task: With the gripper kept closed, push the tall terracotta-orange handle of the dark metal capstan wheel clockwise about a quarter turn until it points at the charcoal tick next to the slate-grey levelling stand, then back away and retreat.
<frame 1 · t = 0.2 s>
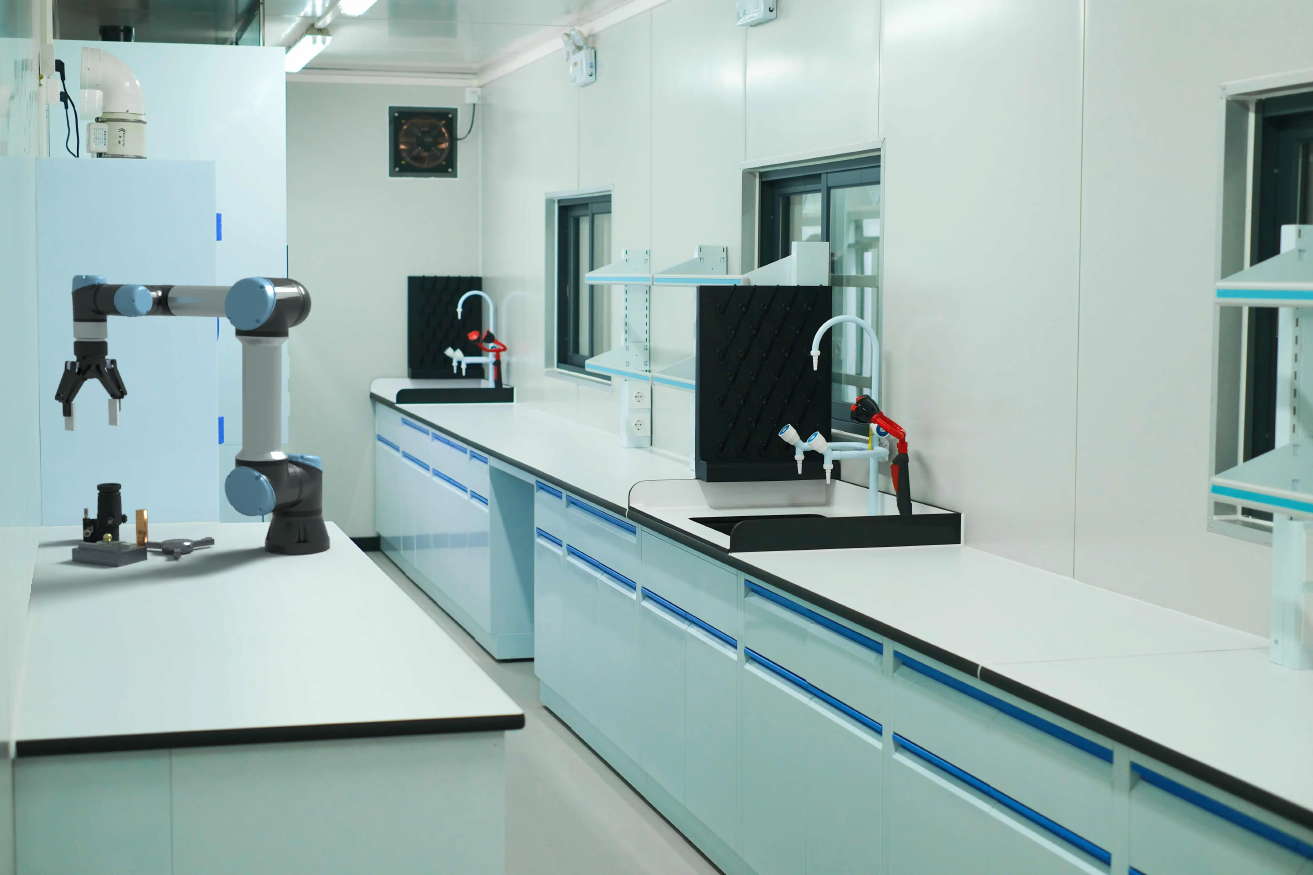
hand: (92, 428, 309), 28 cm above the table, fingers open, 13 cm apart
capstan: (167, 530, 301), point 5 cm above the table, hinge at 10.0°
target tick: (206, 542, 313), on the table
scope: (105, 541, 311), on the table
level stand: (110, 560, 290), on the table
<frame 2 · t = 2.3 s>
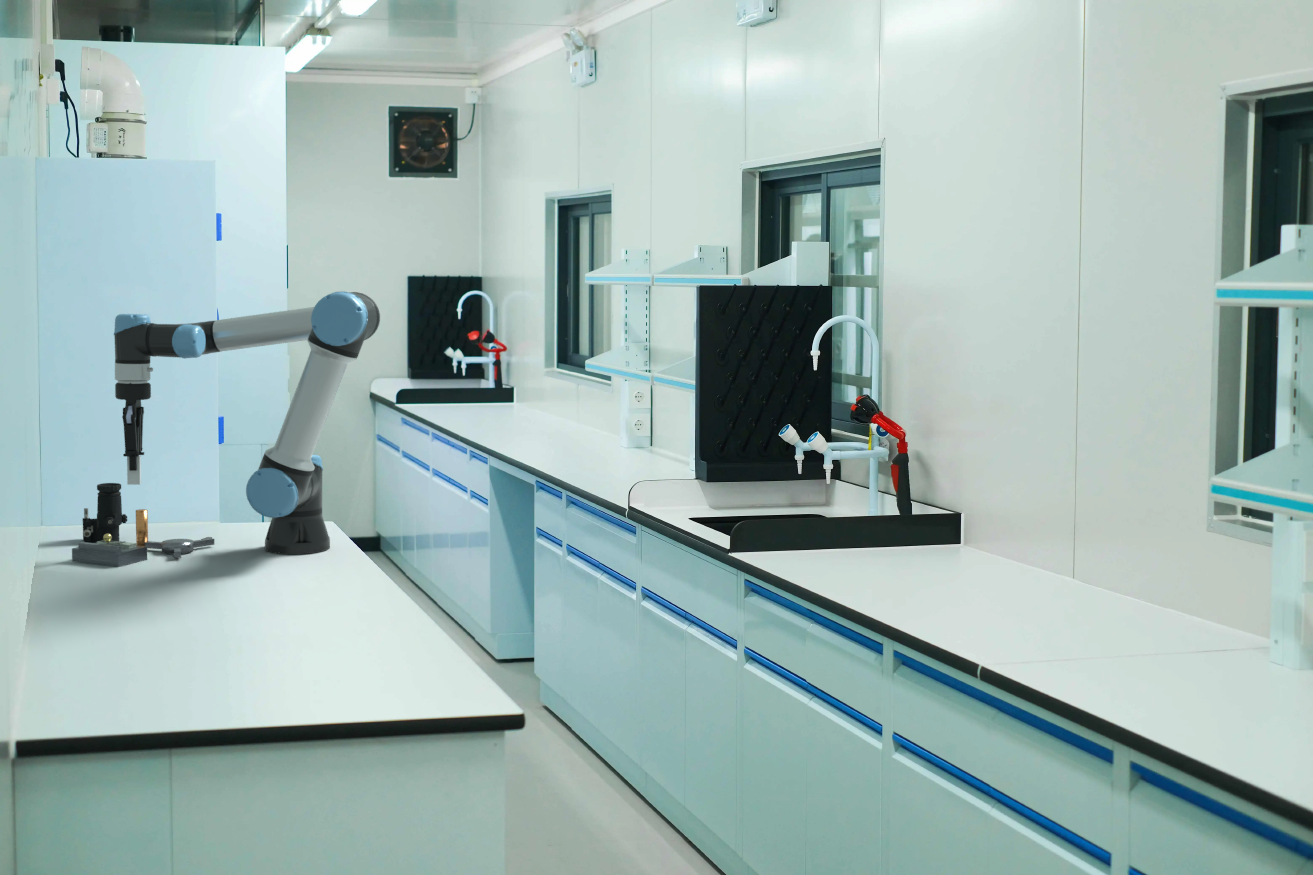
hand: (134, 483, 294), 17 cm above the table, fingers closed
nothing on the table moved.
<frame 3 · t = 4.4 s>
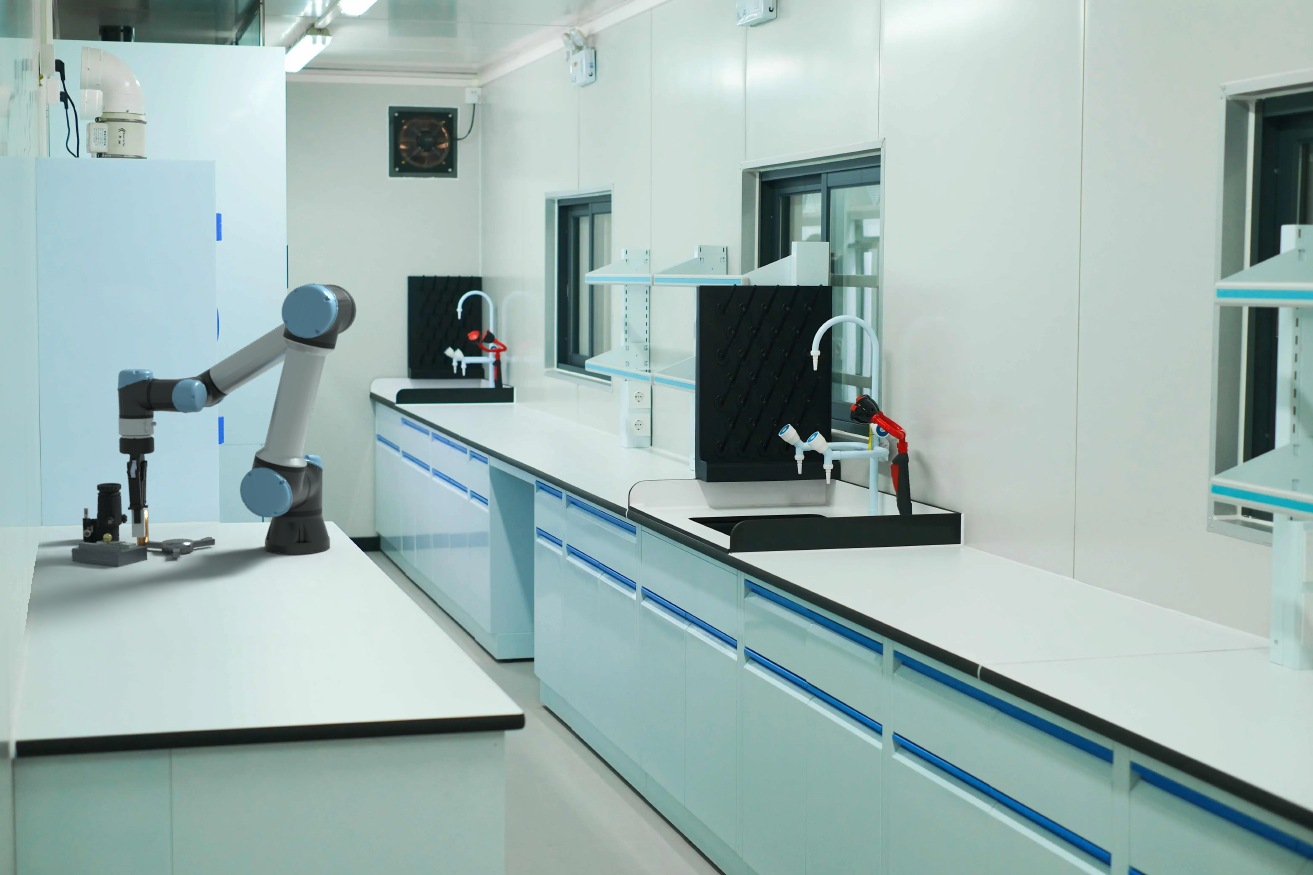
hand: (138, 536, 298), 4 cm above the table, fingers closed
capstan: (167, 530, 301), point 5 cm above the table, hinge at 8.3°, touching gripper
everything else where it was.
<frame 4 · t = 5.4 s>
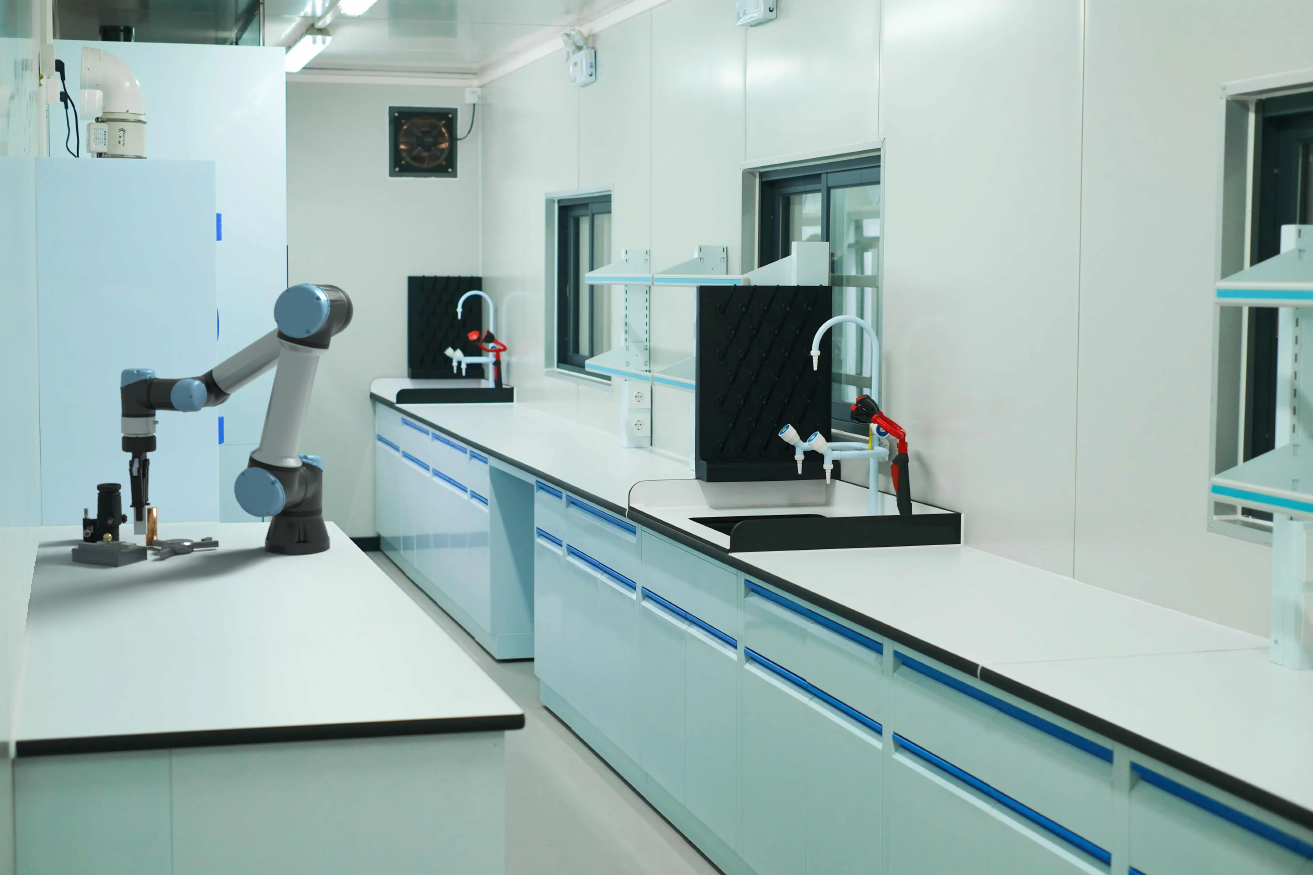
hand: (140, 533, 301), 4 cm above the table, fingers closed
capstan: (169, 530, 301), point 5 cm above the table, hinge at -10.0°, touching gripper
everything else where it was.
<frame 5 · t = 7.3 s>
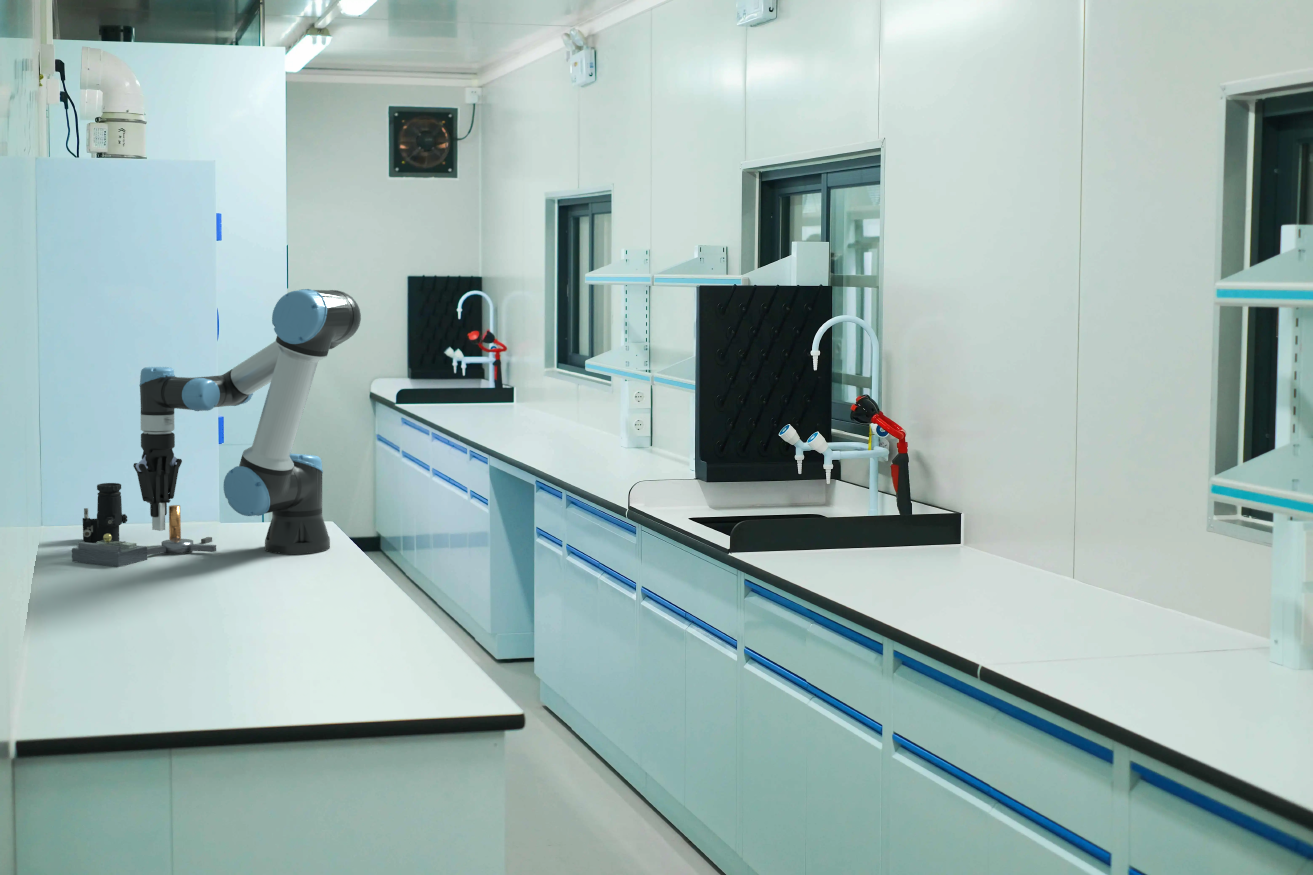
hand: (158, 529, 306), 4 cm above the table, fingers closed
capstan: (176, 529, 302), point 5 cm above the table, hinge at -46.6°, touching gripper
everything else where it was.
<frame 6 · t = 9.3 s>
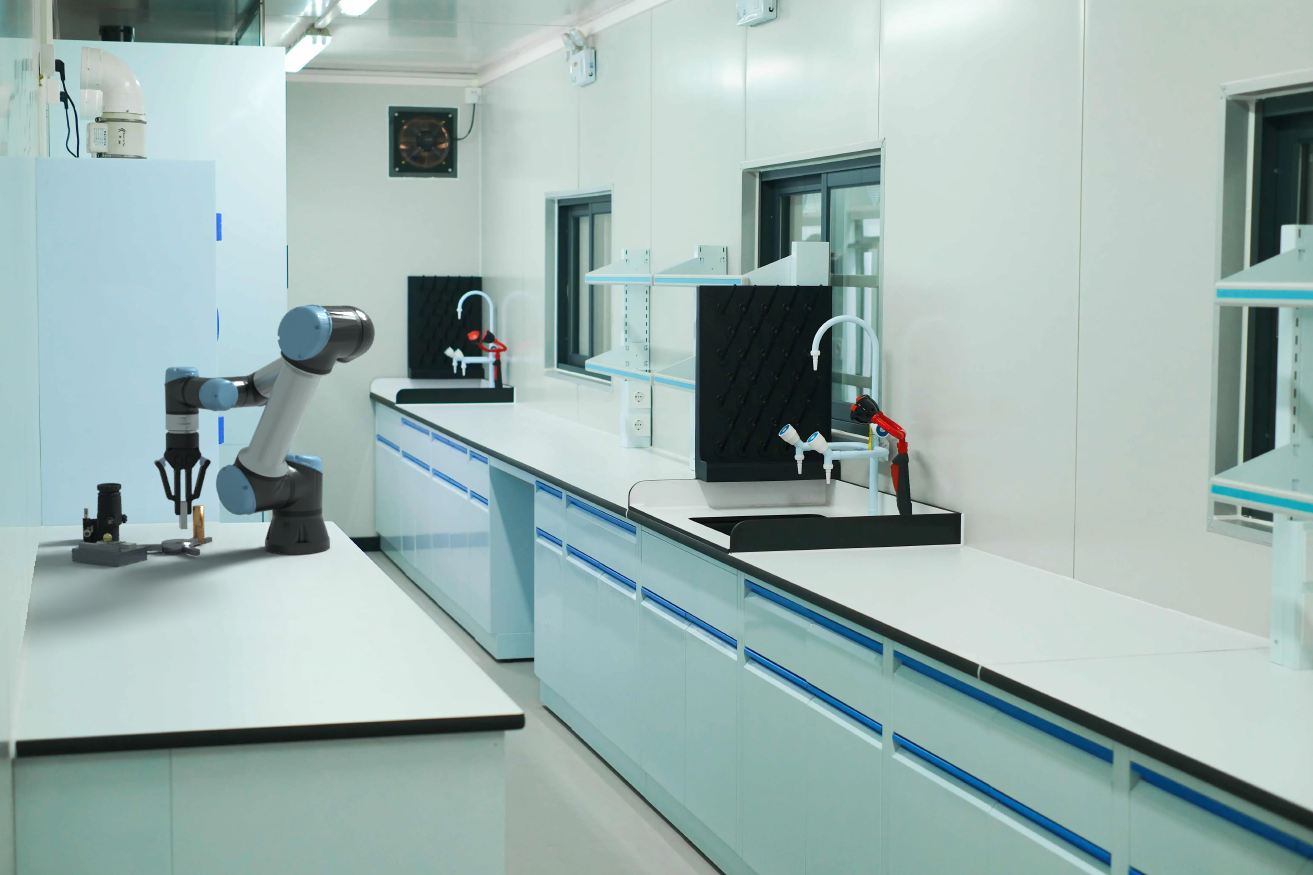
hand: (183, 528, 309), 4 cm above the table, fingers closed
capstan: (183, 529, 303), point 5 cm above the table, hinge at -82.5°, touching gripper
everything else where it was.
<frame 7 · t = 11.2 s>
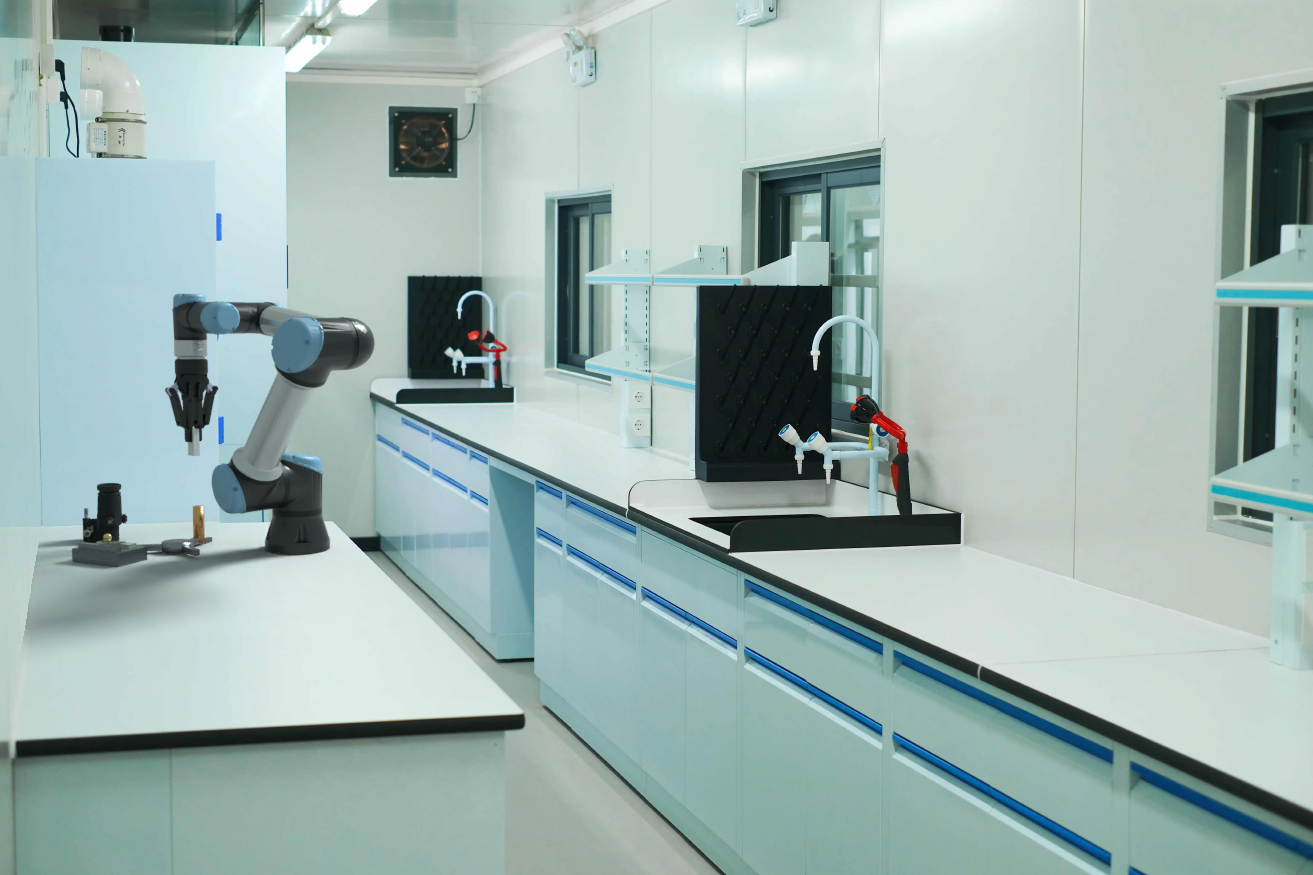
hand: (193, 455, 310), 21 cm above the table, fingers closed
capstan: (183, 529, 303), point 5 cm above the table, hinge at -82.8°
everything else where it was.
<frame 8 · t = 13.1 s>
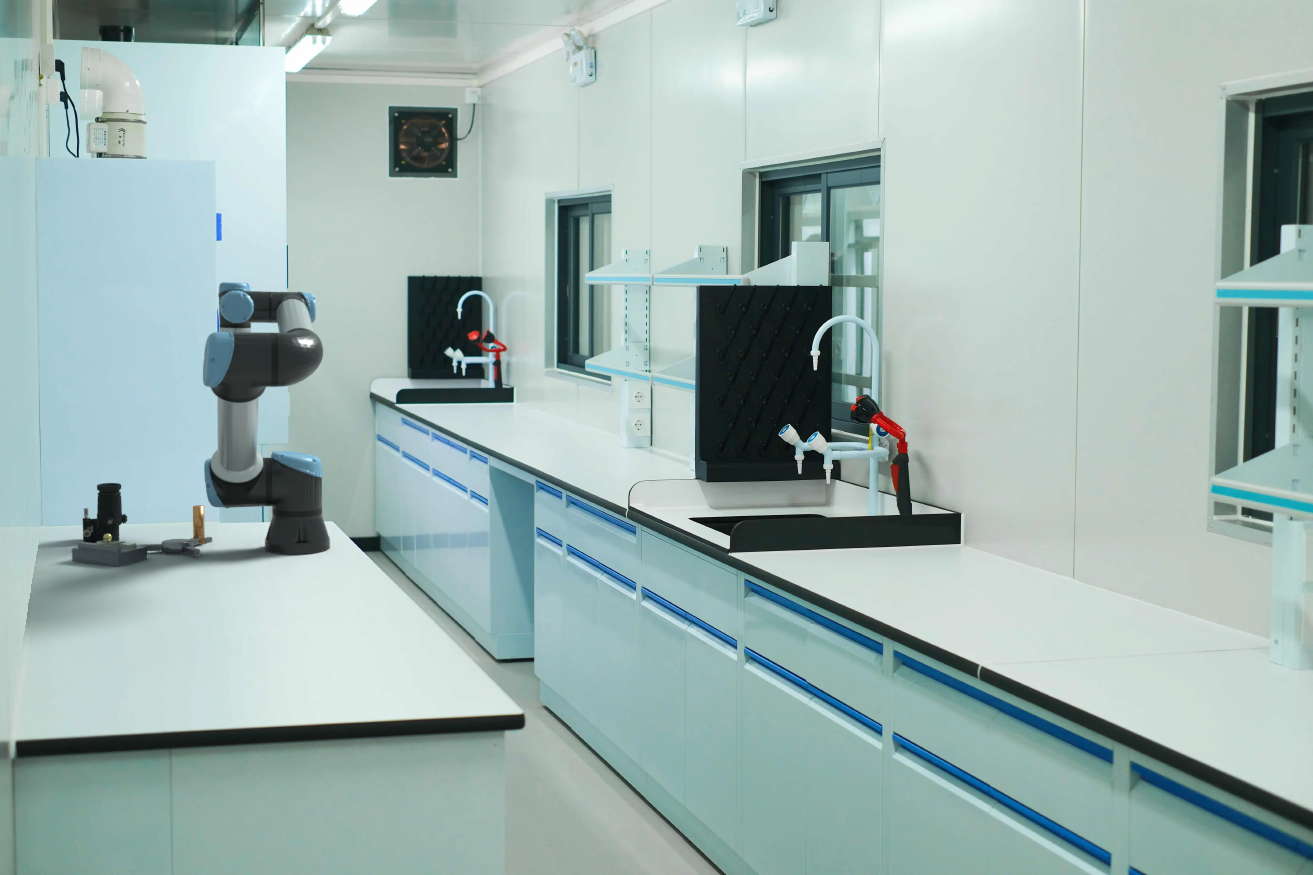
hand: (236, 439, 319), 24 cm above the table, fingers closed
nothing on the table moved.
at the end: capstan at -83° (first picture: +10°); scope moved 0.2 cm from its start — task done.
